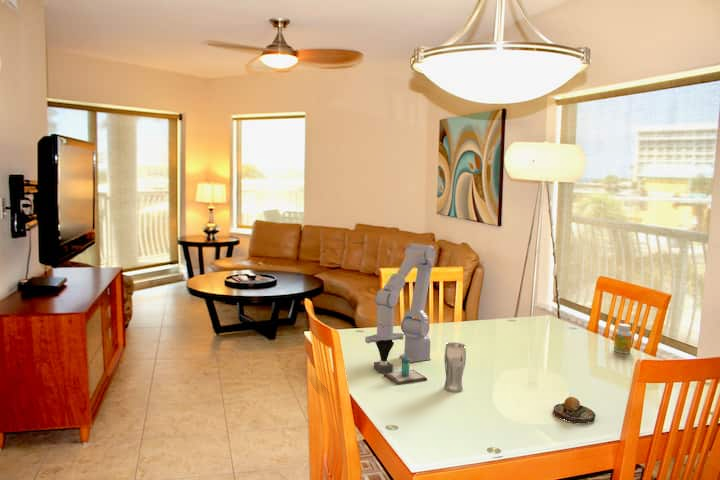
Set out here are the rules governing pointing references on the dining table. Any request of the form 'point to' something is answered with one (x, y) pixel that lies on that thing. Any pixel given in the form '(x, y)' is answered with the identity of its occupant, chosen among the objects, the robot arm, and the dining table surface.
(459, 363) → the beer glass
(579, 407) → the dark base with ball
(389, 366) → the button box
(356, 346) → the dining table surface
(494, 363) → the dining table surface
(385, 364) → the button cap
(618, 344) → the supplement bottle
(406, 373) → the marker
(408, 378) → the grey flat tray
